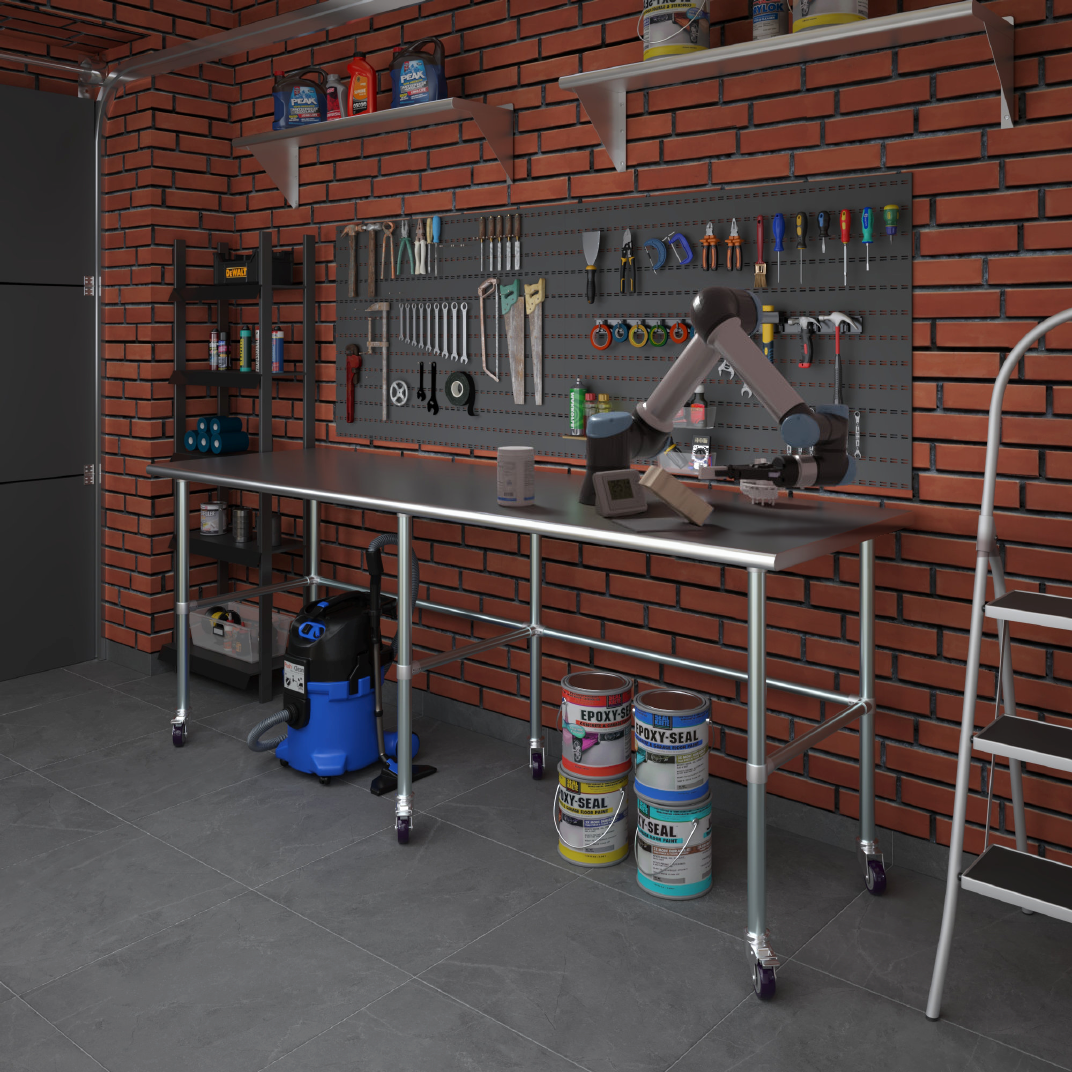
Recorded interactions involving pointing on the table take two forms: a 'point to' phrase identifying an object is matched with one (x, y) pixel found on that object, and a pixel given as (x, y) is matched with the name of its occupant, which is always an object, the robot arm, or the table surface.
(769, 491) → the mechanical part
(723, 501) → the table surface
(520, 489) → the supplement tub
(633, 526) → the charcoal rubber mat
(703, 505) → the beige rectangular block
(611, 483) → the digital clock
